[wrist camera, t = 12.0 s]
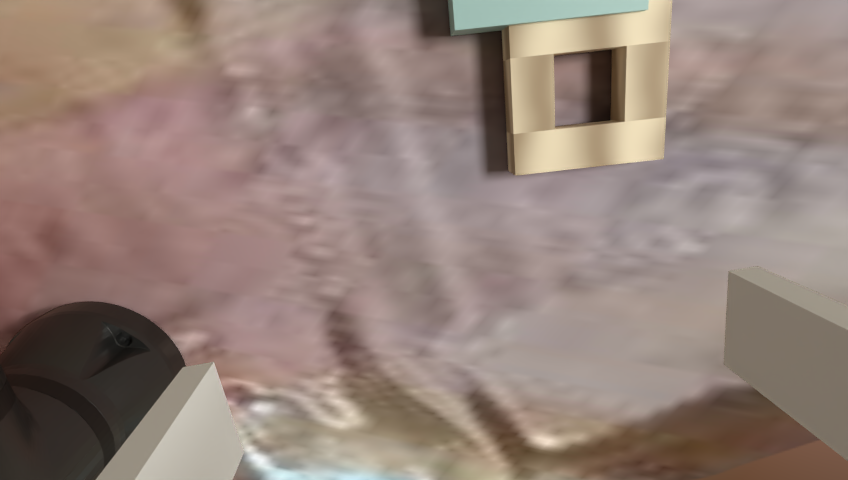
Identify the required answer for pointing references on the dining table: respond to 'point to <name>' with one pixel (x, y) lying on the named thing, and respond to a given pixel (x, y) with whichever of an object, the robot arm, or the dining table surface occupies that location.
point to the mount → (630, 90)
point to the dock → (528, 12)
